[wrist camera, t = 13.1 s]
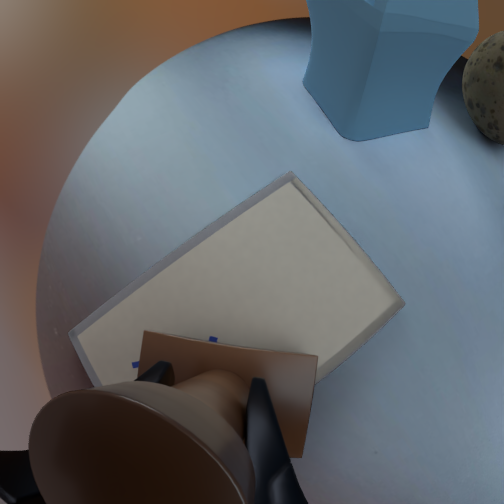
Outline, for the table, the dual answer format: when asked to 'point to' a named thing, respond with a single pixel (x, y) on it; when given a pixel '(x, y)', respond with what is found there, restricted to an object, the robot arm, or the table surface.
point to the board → (249, 289)
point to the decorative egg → (486, 87)
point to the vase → (384, 60)
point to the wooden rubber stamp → (169, 427)
